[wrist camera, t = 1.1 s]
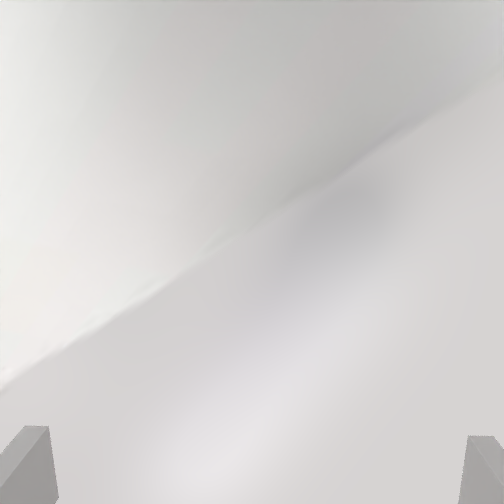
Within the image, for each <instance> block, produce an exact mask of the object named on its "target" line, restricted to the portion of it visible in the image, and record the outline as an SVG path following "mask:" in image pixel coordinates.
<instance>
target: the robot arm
mask: <svg viewBox="0 0 504 504" xmlns="http://www.w3.org/2000/svg"><path fill="white" fill-rule="evenodd" d="M58 498H59V496H58V489H57V482H56V475H55V468H54V461H53V454H52V447H51V440H50V433H49V426H25V427H23V429H22V430H21V431H20V432H19V433H18V434H17V436H16V437H15V438H14V439H13V440H12V441H11V442H10V444H9V445H8V446H7V447H6V448H5V449H4V450H3V452H2V453H1V454H0V504H55V503H56V501H57V500H58ZM458 504H504V449H503V448H502V447H501V445H500V444H499V443H498V441H497V440H496V439H495V437H494V436H468V440H467V447H466V453H465V460H464V468H463V475H462V481H461V488H460V496H459V503H458Z"/></svg>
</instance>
